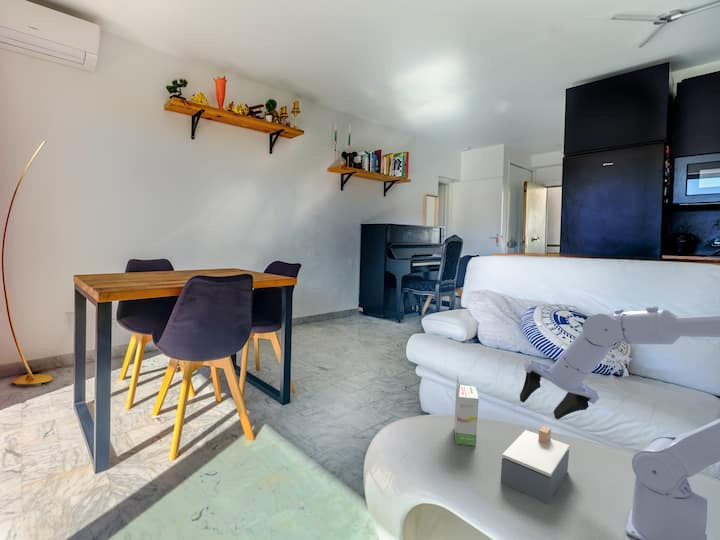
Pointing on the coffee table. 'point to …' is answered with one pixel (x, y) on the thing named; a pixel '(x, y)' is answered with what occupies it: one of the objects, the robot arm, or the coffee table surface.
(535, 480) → the box
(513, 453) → the lid
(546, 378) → the robot arm
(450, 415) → the coffee table surface
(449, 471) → the coffee table surface
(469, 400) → the ink box
